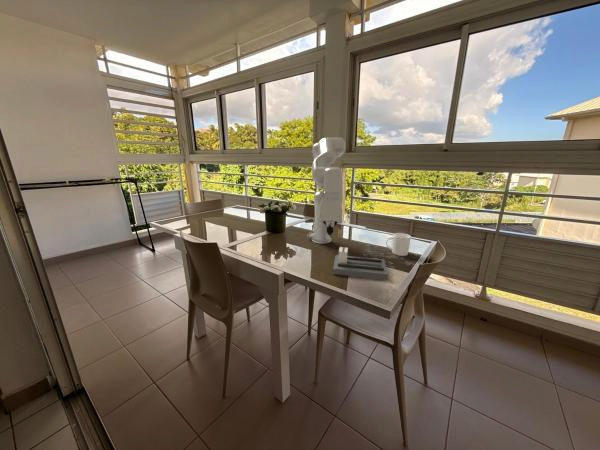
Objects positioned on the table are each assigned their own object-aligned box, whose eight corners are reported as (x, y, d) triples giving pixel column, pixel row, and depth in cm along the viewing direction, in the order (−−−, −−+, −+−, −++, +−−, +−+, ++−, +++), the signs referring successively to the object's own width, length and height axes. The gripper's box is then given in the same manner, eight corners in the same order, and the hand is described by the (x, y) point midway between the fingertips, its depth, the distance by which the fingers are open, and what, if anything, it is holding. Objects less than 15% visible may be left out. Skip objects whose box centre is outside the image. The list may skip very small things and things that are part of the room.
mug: (386, 248, 142) (388, 231, 139) (408, 252, 137) (410, 234, 134) (384, 253, 134) (386, 235, 131) (407, 257, 129) (410, 238, 126)
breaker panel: (332, 274, 110) (333, 266, 109) (335, 259, 125) (335, 252, 124) (387, 280, 106) (388, 271, 104) (383, 264, 121) (384, 257, 119)
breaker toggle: (338, 263, 114) (338, 251, 112) (338, 258, 119) (339, 246, 118) (346, 264, 113) (347, 252, 111) (347, 259, 119) (347, 247, 117)
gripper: (313, 196, 107) (312, 235, 112) (348, 198, 104) (345, 238, 109) (316, 194, 114) (315, 231, 119) (348, 195, 111) (346, 233, 116)
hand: (329, 234), depth 114 cm, fingers closed
